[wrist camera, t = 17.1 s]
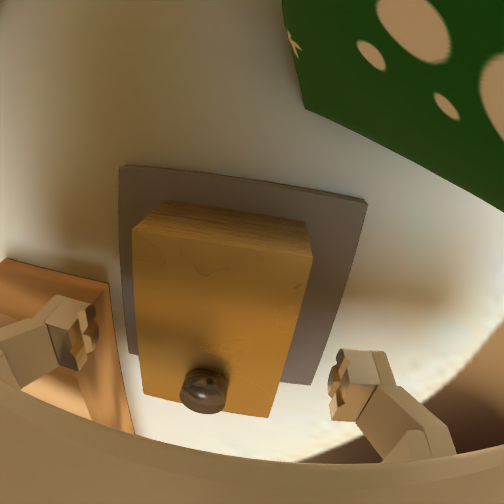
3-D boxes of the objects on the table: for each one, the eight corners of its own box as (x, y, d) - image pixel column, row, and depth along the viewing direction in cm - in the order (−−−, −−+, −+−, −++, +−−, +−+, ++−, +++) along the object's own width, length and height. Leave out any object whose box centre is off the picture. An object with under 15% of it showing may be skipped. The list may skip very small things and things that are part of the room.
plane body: (6, 258, 14) (-76, 326, 8) (108, 283, 14) (26, 387, 8) (64, 427, 21) (33, 488, 15) (140, 454, 21) (116, 524, 14)
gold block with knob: (165, 199, 11) (119, 241, 8) (305, 221, 11) (316, 273, 8) (164, 347, 14) (137, 408, 11) (271, 366, 14) (267, 433, 11)
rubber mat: (126, 164, 11) (119, 167, 11) (364, 199, 11) (368, 204, 11) (133, 345, 15) (128, 353, 15) (310, 376, 15) (310, 385, 15)
